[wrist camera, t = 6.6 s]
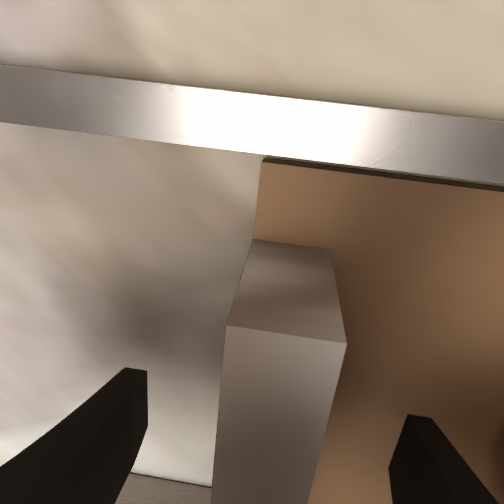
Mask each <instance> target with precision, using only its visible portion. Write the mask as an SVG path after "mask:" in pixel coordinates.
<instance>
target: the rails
mask: <svg viewBox="0 0 504 504" xmlns="http://www.w3.org/2000/svg"><path fill="white" fill-rule="evenodd" d="M0 122H5V123H13V124H21V125H29V126H37V127H45V128H54V129H62V130H70V131H78V132H86V133H94V134H102V135H110V136H118V137H127V138H135V139H143V140H151V141H159V142H167V143H175V144H183V145H192V146H200V147H208V148H216V149H224V150H232V151H240V152H248V153H256V154H265V155H273V156H281V157H289V158H297V159H305V160H313V161H321V162H330V163H338V164H346V165H354V166H362V167H370V168H378V169H386V170H394V171H403V172H411V173H419V174H427V175H435V176H443V177H451V178H459V179H468V180H476V181H484V182H492V183H500V184H504V121H501V120H492V119H483V118H474V117H465V116H456V115H447V114H439V113H430V112H421V111H412V110H403V109H394V108H385V107H376V106H367V105H358V104H350V103H341V102H332V101H323V100H314V99H305V98H296V97H287V96H278V95H269V94H261V93H252V92H243V91H234V90H225V89H216V88H207V87H198V86H189V85H180V84H172V83H163V82H154V81H145V80H136V79H127V78H118V77H109V76H100V75H92V74H83V73H74V72H65V71H56V70H47V69H38V68H29V67H20V66H11V65H3V64H0ZM211 490H212V488H207V487H202V486H196V485H191V484H185V483H180V482H175V481H169V480H164V479H158V478H153V477H148V476H142V475H137V474H131V473H129V475H128V477H127V480H126V482H125V484H124V486H123V488H122V490H121V492H120V494H119V496H118V498H117V500H116V502H115V504H210V501H211Z"/></svg>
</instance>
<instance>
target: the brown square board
mask: <svg viewBox="0 0 504 504" xmlns="http://www.w3.org/2000/svg"><path fill="white" fill-rule="evenodd" d="M407 414H411V415H417V416H423V417H429V418H432V419H433V420H434V422H435V423H436V424H437V425H438V427H439V428H440V429H441V431H442V432H443V433H444V434H445V436H446V437H447V438H448V440H449V441H450V442H451V444H452V445H453V446H454V447H455V449H456V450H457V451H458V453H459V454H460V455H461V456H462V458H463V459H464V460H465V462H466V463H467V464H468V465H469V467H470V468H471V469H472V471H473V472H474V473H475V474H476V476H477V477H478V478H479V479H480V481H481V482H482V483H483V484H484V486H485V487H486V488H487V489H488V491H489V492H490V493H491V494H492V495H493V497H494V498H495V499H496V500H497V502H498V503H499V504H504V188H502V187H494V186H486V185H478V184H470V183H462V182H454V181H446V180H438V179H429V178H421V177H413V176H405V175H397V174H389V173H381V172H373V171H365V170H357V169H349V168H341V167H333V166H324V165H316V164H308V163H300V162H292V161H284V160H276V159H268V158H264V159H263V161H262V165H261V175H260V184H259V193H258V202H257V211H256V220H255V229H254V238H253V241H252V245H251V248H250V251H249V254H248V257H247V260H246V264H245V267H244V270H243V273H242V276H241V279H240V283H239V286H238V289H237V292H236V295H235V298H234V302H233V305H232V308H231V311H230V314H229V317H228V320H227V324H226V331H225V342H224V354H223V365H222V376H221V388H220V399H219V411H218V422H217V433H216V445H215V456H214V467H213V479H212V490H211V501H210V504H393V502H392V495H391V487H390V479H389V471H388V467H389V464H390V461H391V458H392V456H393V453H394V450H395V447H396V445H397V442H398V439H399V436H400V433H401V431H402V428H403V425H404V422H405V420H406V417H407Z"/></svg>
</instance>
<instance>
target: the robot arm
mask: <svg viewBox="0 0 504 504" xmlns="http://www.w3.org/2000/svg"><path fill="white" fill-rule="evenodd" d="M147 427H148V397H147V371H145V370H139V369H133V368H127V367H125V368H124V369H123V370H121V371H120V372H119V373H118V374H117V375H115V376H114V377H113V378H112V379H111V380H110V381H109V382H107V383H106V384H105V385H104V386H103V387H102V388H101V389H99V390H98V391H97V392H96V393H95V394H94V395H92V396H91V397H90V398H89V399H88V400H86V401H85V402H84V403H83V404H82V405H81V406H79V407H78V408H77V409H76V410H74V411H73V412H72V413H71V414H70V415H68V416H67V417H66V418H65V419H63V420H62V421H61V422H60V423H59V424H57V425H56V426H55V427H53V428H52V429H51V430H50V431H48V432H47V433H46V434H44V435H43V436H42V437H40V438H39V439H38V440H36V441H35V442H34V443H32V444H31V445H30V446H28V447H27V448H26V449H24V450H23V451H22V452H20V453H19V454H18V455H16V456H15V457H13V458H12V459H11V460H9V461H8V462H6V463H5V464H3V465H2V466H1V467H0V504H115V502H116V500H117V498H118V496H119V494H120V492H121V490H122V488H123V486H124V484H125V482H126V480H127V477H128V475H129V473H130V471H131V469H132V467H133V465H134V463H135V460H136V457H137V455H138V452H139V449H140V447H141V444H142V441H143V438H144V435H145V432H146V430H147ZM388 471H389V479H390V487H391V495H392V502H393V504H499V503H498V502H497V500H496V499H495V498H494V497H493V495H492V494H491V493H490V492H489V491H488V489H487V488H486V487H485V486H484V484H483V483H482V482H481V481H480V479H479V478H478V477H477V476H476V474H475V473H474V472H473V471H472V469H471V468H470V467H469V465H468V464H467V463H466V462H465V460H464V459H463V458H462V456H461V455H460V454H459V453H458V451H457V450H456V449H455V447H454V446H453V445H452V444H451V442H450V441H449V440H448V438H447V437H446V436H445V434H444V433H443V432H442V431H441V429H440V428H439V427H438V425H437V424H436V423H435V422H434V420H433V419H432V418H429V417H423V416H417V415H411V414H407V417H406V420H405V422H404V425H403V428H402V431H401V433H400V436H399V439H398V442H397V445H396V447H395V450H394V453H393V456H392V458H391V461H390V464H389V467H388Z"/></svg>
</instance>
